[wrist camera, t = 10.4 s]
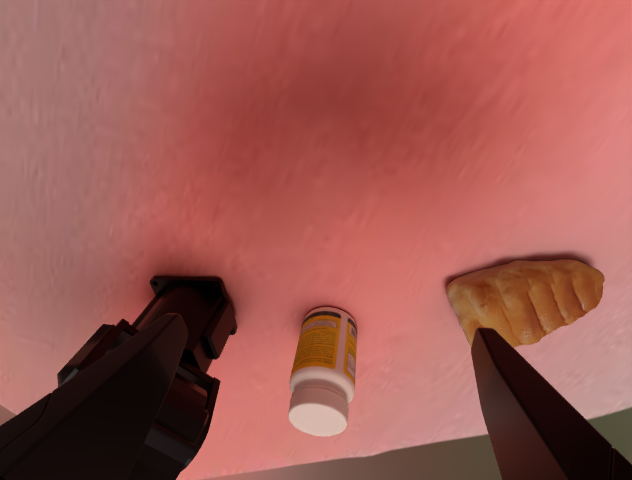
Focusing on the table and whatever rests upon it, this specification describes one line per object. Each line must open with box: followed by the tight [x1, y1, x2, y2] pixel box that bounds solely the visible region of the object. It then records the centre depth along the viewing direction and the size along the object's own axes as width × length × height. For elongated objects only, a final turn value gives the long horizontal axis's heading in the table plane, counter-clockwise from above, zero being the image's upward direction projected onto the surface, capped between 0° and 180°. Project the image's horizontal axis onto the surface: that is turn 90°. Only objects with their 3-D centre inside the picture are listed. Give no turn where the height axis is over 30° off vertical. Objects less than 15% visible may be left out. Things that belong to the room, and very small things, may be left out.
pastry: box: [446, 259, 604, 347], centre depth 22 cm, size 9×7×4 cm
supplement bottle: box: [288, 307, 357, 436], centre depth 25 cm, size 5×5×8 cm
